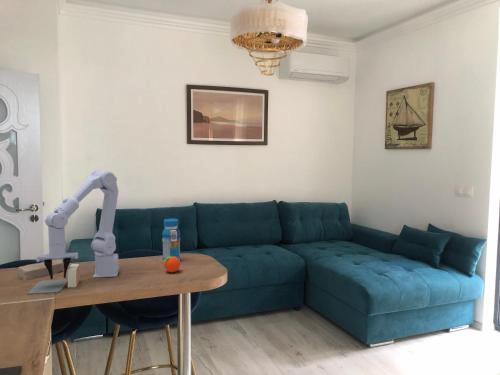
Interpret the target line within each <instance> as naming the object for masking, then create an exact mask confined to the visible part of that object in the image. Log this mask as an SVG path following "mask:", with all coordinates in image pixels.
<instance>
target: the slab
mask: <svg viewBox="0 0 500 375" xmlns="http://www.w3.org/2000/svg"><path fill="white" fill-rule="evenodd" d="M67 279H68V282H67V288H70V287H71V288H77V286H78V285H79V284H80V283H79V282H80V264H79V263H75V264H74V263H72V264H69V266H68V269H67Z"/></svg>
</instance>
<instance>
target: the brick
mask: <svg viewBox="0 0 500 375" xmlns="http://www.w3.org/2000/svg"><path fill="white" fill-rule="evenodd" d="M52 271H53V275H55V274H59V273H61V272H64V262H63V261H62V260H60V259H59V260H52ZM16 274H17V278H20V279H21V280H24V281H27V280H32V279H37V278H41V277H47V276H50V274H49V272H48V270H47V268H46V266H45V264H44V261H40V262H36V263H32V264H26V265H22V266H19V267H18V268H17V273H16Z"/></svg>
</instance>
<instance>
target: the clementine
mask: <svg viewBox="0 0 500 375" xmlns="http://www.w3.org/2000/svg"><path fill="white" fill-rule="evenodd" d="M164 261H165V262H164ZM164 261H163V263H162V264H163V266H164V269H165V271H166V272H168V273H175V272H177V271H178V270H179V269H180V267H181V261H180V260H179V259H178V258H177V257H175V256H170V257H167V258H166V259H165V260H164Z"/></svg>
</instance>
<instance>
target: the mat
mask: <svg viewBox="0 0 500 375" xmlns="http://www.w3.org/2000/svg"><path fill="white" fill-rule="evenodd" d="M67 284H68V278H67V279H66V278H65V279H49V280H47V279H46V280H39V281H38V282H37V283H36V284H35V285H34V286H33V287H31V289H30V290H29V291H28V292H27V295H38V294H40V295H42V294H59V293H60V292H61V291H62V290H63V289H64V288H65V286H66V285H67Z"/></svg>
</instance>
